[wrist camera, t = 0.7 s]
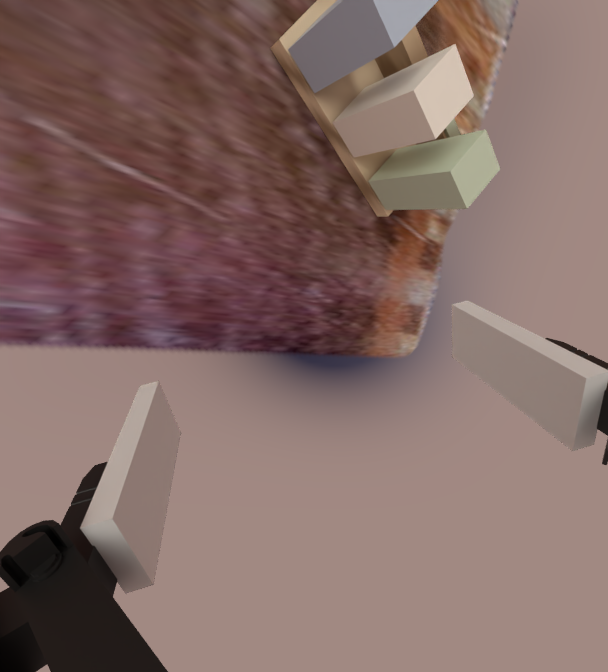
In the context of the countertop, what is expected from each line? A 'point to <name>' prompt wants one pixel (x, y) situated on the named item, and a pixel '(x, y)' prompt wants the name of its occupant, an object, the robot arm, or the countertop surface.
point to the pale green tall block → (437, 173)
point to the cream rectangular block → (406, 105)
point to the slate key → (353, 36)
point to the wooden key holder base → (351, 96)
